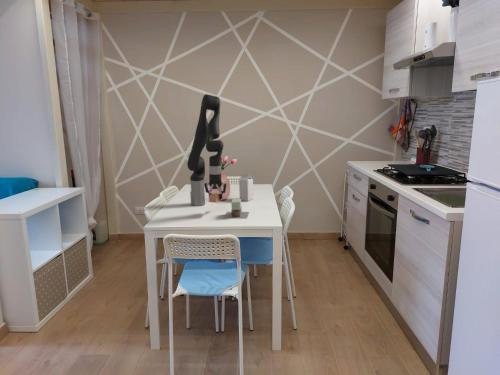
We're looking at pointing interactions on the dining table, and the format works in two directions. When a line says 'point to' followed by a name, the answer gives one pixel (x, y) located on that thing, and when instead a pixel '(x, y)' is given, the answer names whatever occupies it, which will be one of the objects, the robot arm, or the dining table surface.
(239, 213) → the walnut brick
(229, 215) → the baseplate
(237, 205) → the sage brick
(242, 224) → the dining table surface
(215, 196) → the terracotta brick
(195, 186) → the robot arm
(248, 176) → the milk carton
